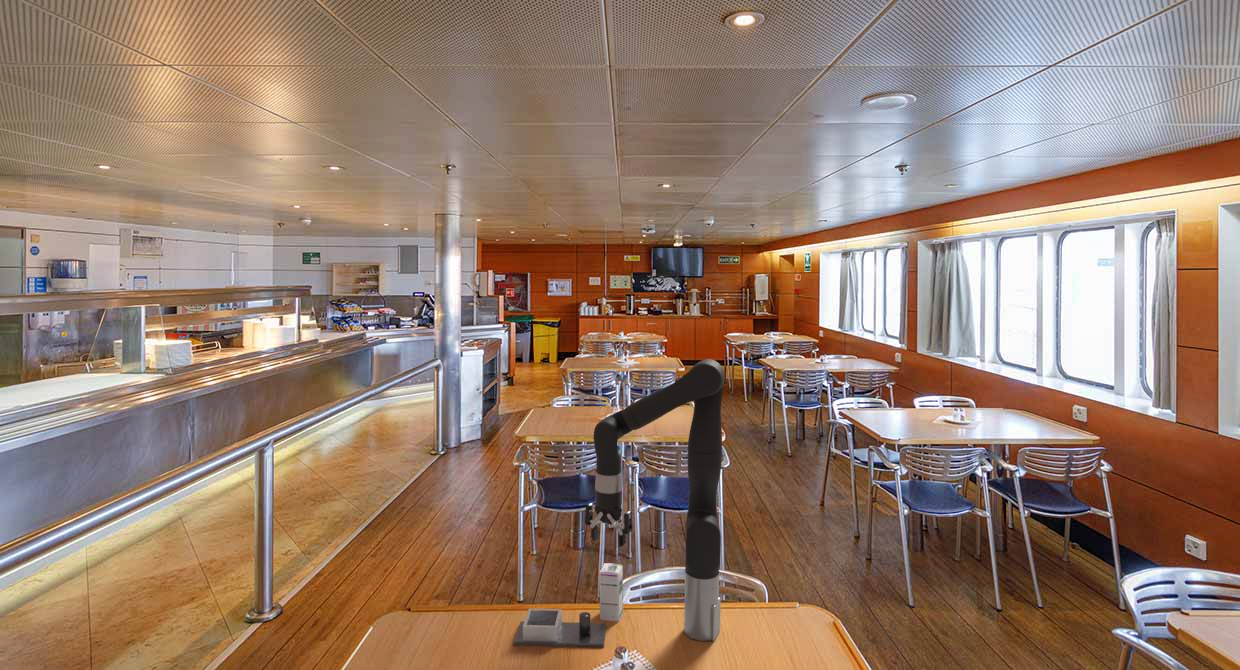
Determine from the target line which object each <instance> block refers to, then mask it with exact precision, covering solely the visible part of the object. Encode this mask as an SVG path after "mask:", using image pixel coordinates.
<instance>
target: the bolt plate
mask: <svg viewBox="0 0 1240 670" xmlns="http://www.w3.org/2000/svg"><path fill="white" fill-rule="evenodd" d="M562 612H563V610H562V609H561V608H560V609H559V608H528V610H527V613H526V616H525V619H524V621H523V620H522V621H520V622H519V625H518V628H517V631H516V634H515V638H514V639H513V646H521V647H522V646H523V647H524V646H525V647H526V646H529V647H571V648H573V647H574V648H576V647H577V648H605V641H606V631H607V630H606V629H607V623H606V622H591V613H590V612H586V611H584V612H581V613H579V615H578V616H579V621H578V622H574V621H573V622H566V621H565V622H564V621H563V619H562V618H563V616H562ZM562 621H563V622H562Z"/></svg>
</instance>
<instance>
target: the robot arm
mask: <svg viewBox="0 0 1240 670" xmlns="http://www.w3.org/2000/svg"><path fill="white" fill-rule="evenodd" d="M725 379H726V374H725V370H724V368H723V366H722V365H721V364H720V363H719V362H718V361H716V360H714V359H712V358H708V359H705V358H704V359H702V360H700V361H698V362H697V363H694V365H693V366H692V367H691V368H690V370H689V371H687V372H686V373H685V374H684V375H682V376H681V377H680V378H678V379H677V380H675V381H674V382H673V383H671V384H670V385H667V386H666V387H664V388H661V389H660V390H657V391H655V392H652V393H650V394H648V395H646V396H644V397H641V398H639V399H638V400H636V401H634V402H632V403H630V404H629V405H627V406H626V407H625V408H624V409H621V410H619V411H618V410H617V412H615V413H612V414H610V415H608V416H606V417H605V418H603V419H601V420H600V421H599V422H598V423H596V425H595V427H594V429H593V430H594V431H593V446H594V452H595V455H596V462H595V465H596V467H595V468H596V472H595V483H594V487H595V489H594V491H595V493H594V494H595V495H594V497H595V498H594V500H595V504H594V503H593V502H589V503H588V504H586V505H585V513H584V524H585V525H586V526H589V527H590V537H591V539H592V541H593V542H596V541H598V540H599V529H600V528H599V524H600V523H602V524H608V525H612V526H613V528H614V529H615V530H616V531H617V533H618V548H624V546H625V545H626V543H627V535H628V534H630V533H631V532H632V531H633V514H632V510H629V509H628V511H624V510H623V508H622V504H623V477H622V456H621V453H620V452H619V447H618V443H619V442H618V440H619V439H621V438H622V437H624V436H626V435H628V434H630V433H631V432H633V431H636V430H639V429H642V428H644V427H645V426H648V425H649V424H651V423H652V422H654V421H656V420H659V418H662V417H664V416H665V415H667V414H668V413H670V412H671V411H673V410H675V409H677V408H679V407H681V406H683V405H685V404H688V403H691V402H693V403H694V404H693V405H694V407H693V414H692V419H691V424H690V428H689V432H688V433H689V434H688V439H687V442H688V443H687V462H686V463H687V478H688V487H689V496H688V497H689V499H688V508H687V514H686V521H685V562H684V565H685V566H684V618H683V619H684V623H683V625H684V627H683V628H684V631H683V632H684V634H685V633H686V634H685V635H686V636H687V637H688V638H690V639H692V640H694V639H695V641H700V642H706V641H707V642H708V641H711V640H712V641H711V642H715V641H716V638H717V637H718V635H719V633H720V631H721V612H722V611H721V608H722V607H721V601H722V600H721V599H722V598H721V597H720V595H719V594H720V592H719V589H720V566H721V552H722V551H721V550H722V539H721V538H722V536H721V529H720V525H719V520H718V519H719V518H718V512H717V511H718V510H717V491H718V485H719V481H720V477H721V472H722V471H721V470H722V465H723V464H722V461H723V459H722V457H723V431H722V430H723V428H722V401H723V400H722V399H723V392H724V385H725V381H726V380H725ZM594 511H595V513H596V516H595V518H594ZM621 516H622V517H621Z"/></svg>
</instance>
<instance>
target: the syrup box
mask: <svg viewBox="0 0 1240 670" xmlns="http://www.w3.org/2000/svg"><path fill="white" fill-rule="evenodd" d="M599 570H600V571H599V574H598V575H599V580H598V581H599V620H600V621H601V620H602V621H607V622H614V623H615V622H616V623H617V622H620V620H621V618H622V615H623V614H624V588H623V587H624V580H623V578H624V577H623V576H624V573H623V564H621V563H610V562H609V563H605V562H604V563H603V566H602V567H601V568H600V569H599Z"/></svg>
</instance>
